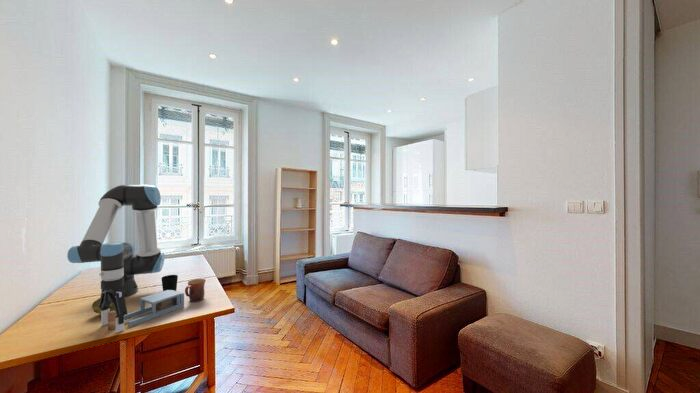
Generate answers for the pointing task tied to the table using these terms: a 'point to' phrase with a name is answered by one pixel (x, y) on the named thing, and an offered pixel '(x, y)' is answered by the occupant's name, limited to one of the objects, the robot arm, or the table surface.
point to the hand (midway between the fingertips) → (112, 327)
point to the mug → (195, 289)
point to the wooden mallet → (113, 314)
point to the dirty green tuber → (97, 309)
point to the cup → (169, 282)
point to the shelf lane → (153, 299)
